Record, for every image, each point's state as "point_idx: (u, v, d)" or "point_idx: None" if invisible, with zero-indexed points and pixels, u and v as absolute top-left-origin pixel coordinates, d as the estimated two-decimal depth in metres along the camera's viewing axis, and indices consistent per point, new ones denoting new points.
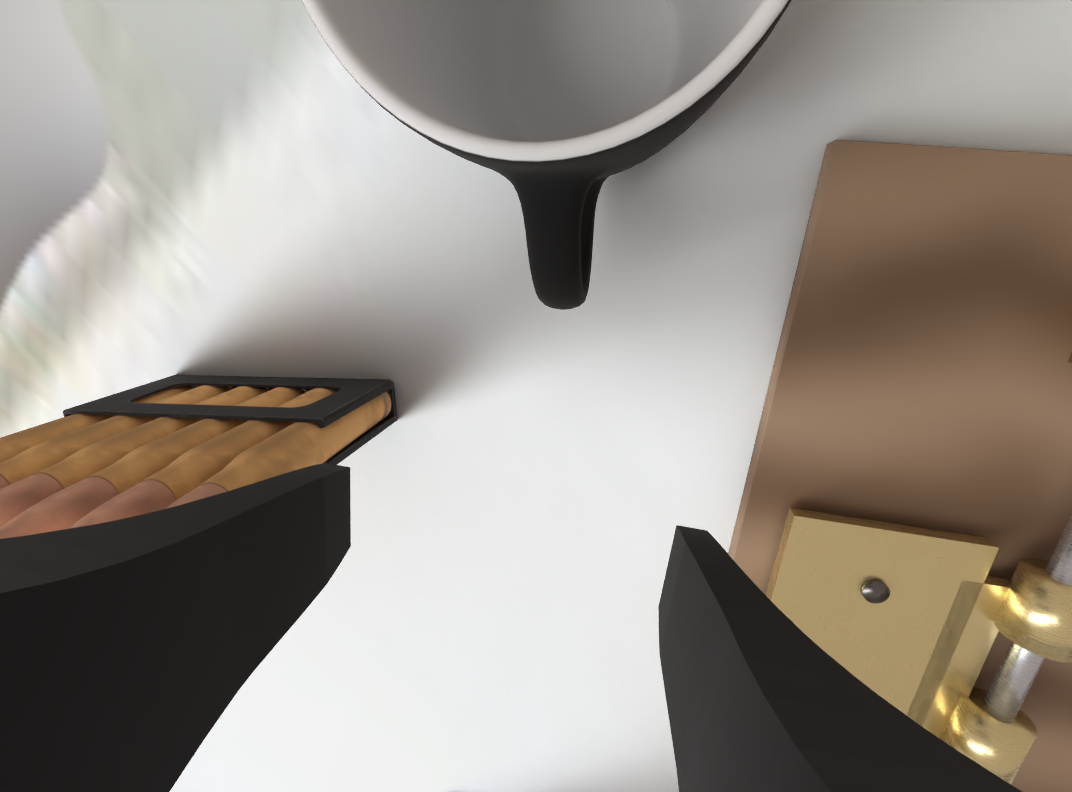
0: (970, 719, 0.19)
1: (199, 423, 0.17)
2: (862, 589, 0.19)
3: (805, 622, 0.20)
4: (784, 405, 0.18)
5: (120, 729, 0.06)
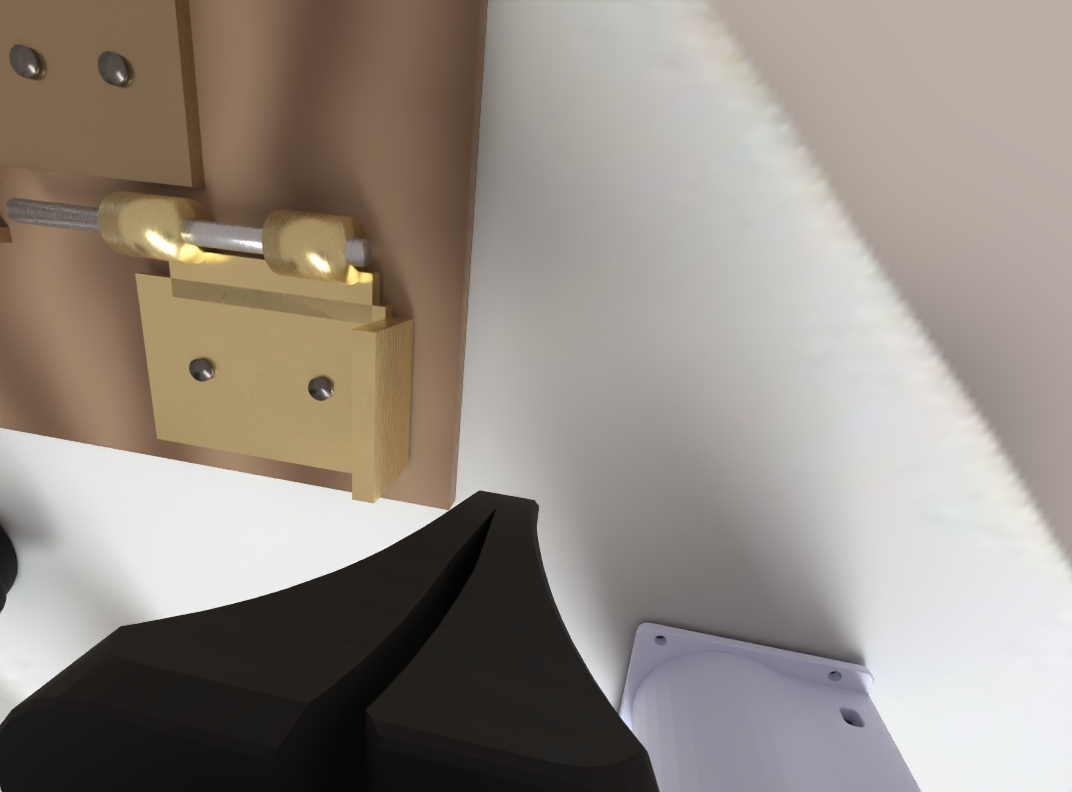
0: (285, 275, 0.17)
1: None
2: (201, 380, 0.20)
3: (252, 423, 0.20)
4: (101, 437, 0.23)
5: None
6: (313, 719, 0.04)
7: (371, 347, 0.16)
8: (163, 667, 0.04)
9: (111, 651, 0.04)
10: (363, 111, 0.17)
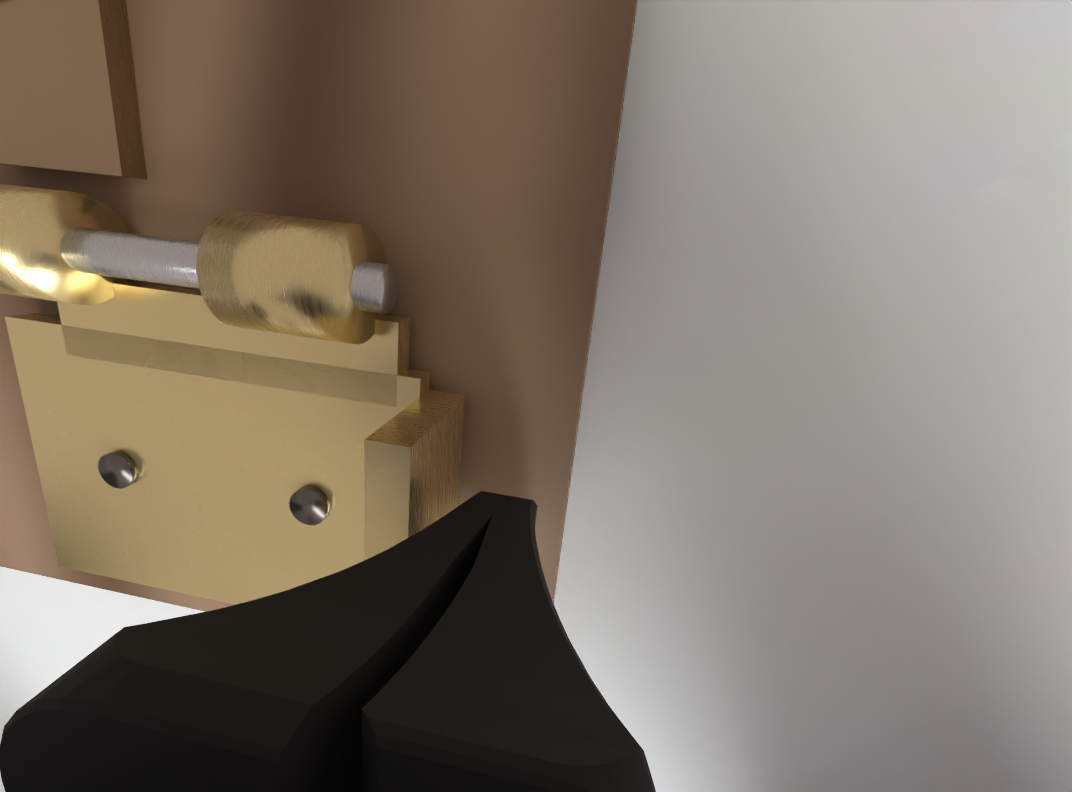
0: None
1: None
2: (119, 486, 0.12)
3: (202, 551, 0.13)
4: (7, 556, 0.15)
5: None
6: (318, 720, 0.04)
7: (402, 472, 0.08)
8: (167, 668, 0.04)
9: (115, 653, 0.04)
10: (423, 38, 0.09)
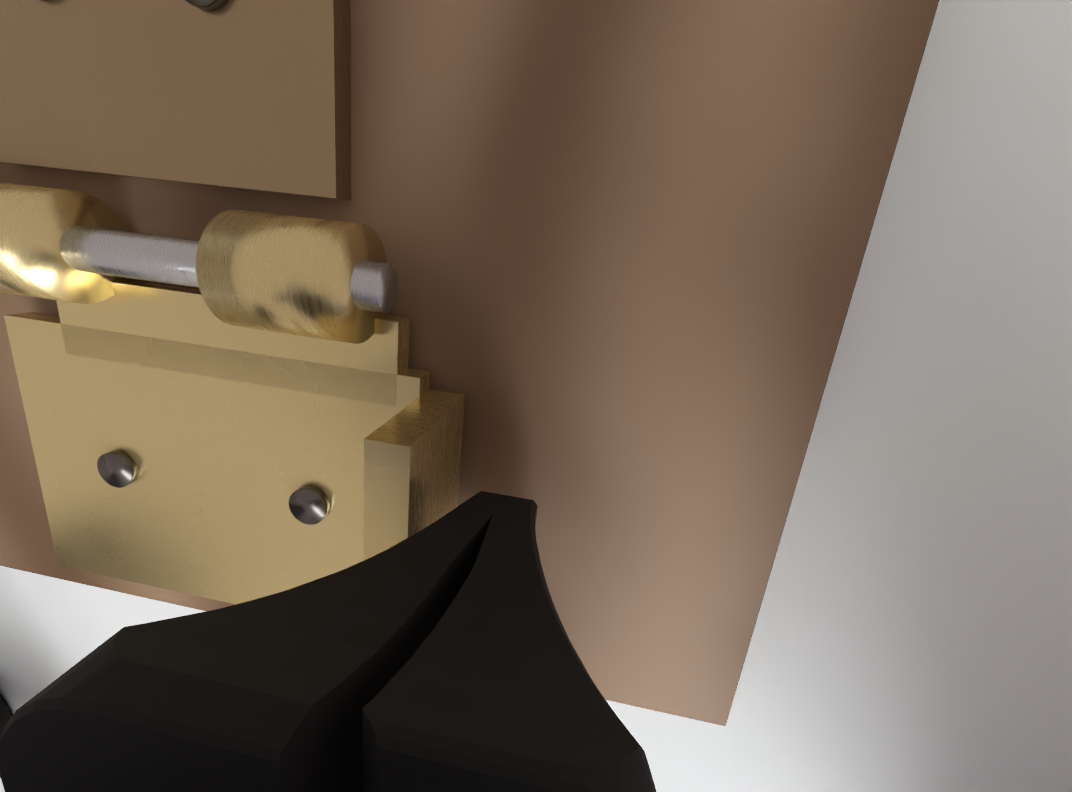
0: None
1: None
2: (118, 486, 0.12)
3: (201, 550, 0.13)
4: (147, 586, 0.15)
5: None
6: (318, 720, 0.04)
7: (402, 472, 0.08)
8: (167, 668, 0.04)
9: (115, 653, 0.04)
10: (683, 54, 0.09)
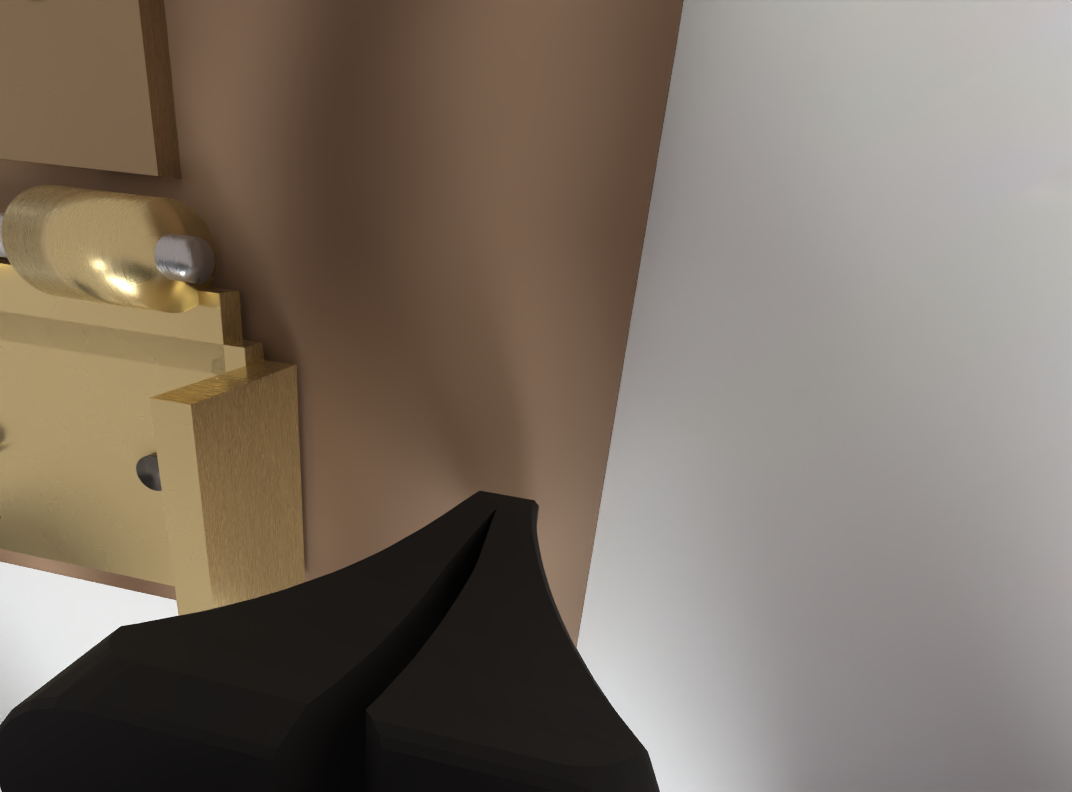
0: (68, 296, 0.10)
1: None
2: None
3: (65, 518, 0.13)
4: (31, 556, 0.15)
5: None
6: (313, 719, 0.04)
7: (187, 429, 0.09)
8: (163, 667, 0.04)
9: (111, 651, 0.04)
10: (465, 38, 0.09)
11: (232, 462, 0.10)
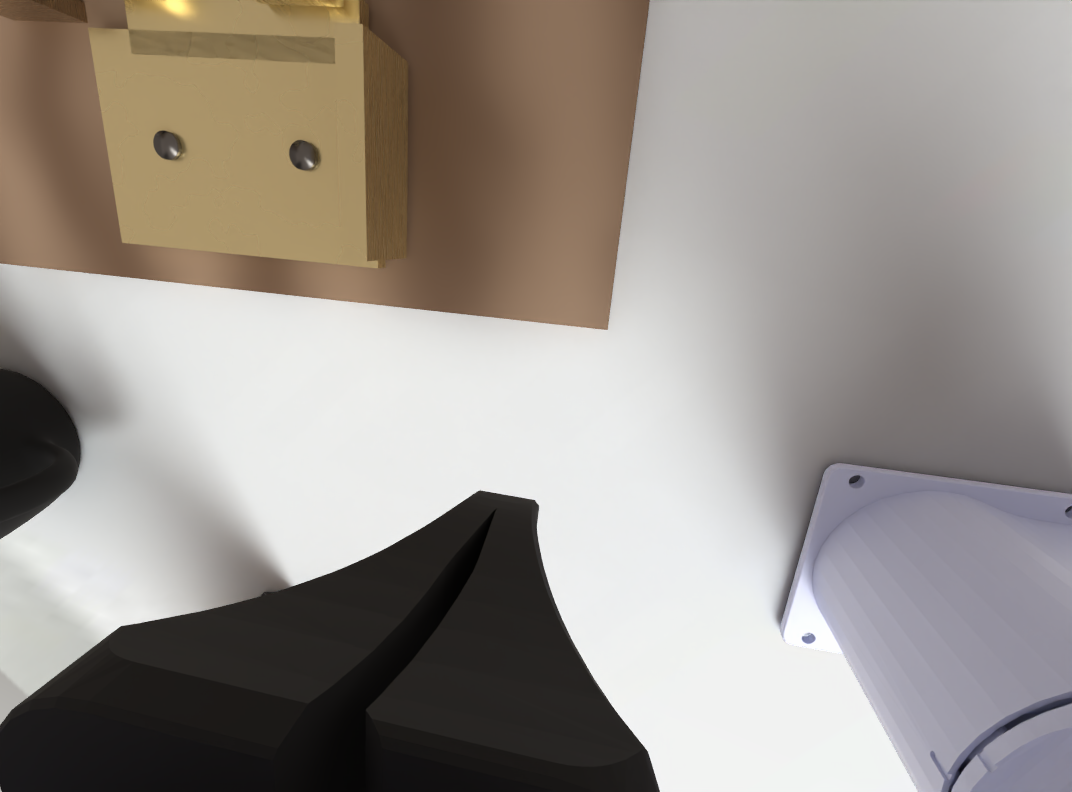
0: None
1: None
2: (168, 159, 0.17)
3: (227, 211, 0.18)
4: (187, 272, 0.20)
5: None
6: (313, 719, 0.04)
7: (358, 46, 0.13)
8: (163, 667, 0.04)
9: (111, 651, 0.04)
10: None
11: (377, 96, 0.14)
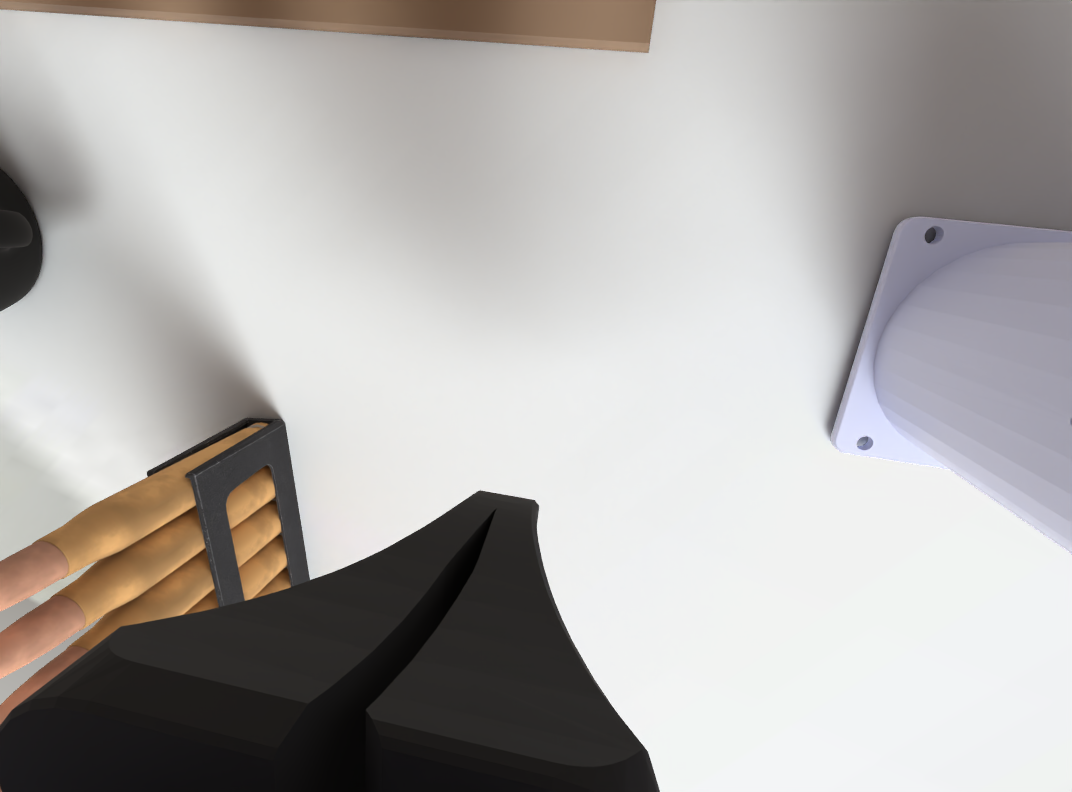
0: None
1: None
2: None
3: None
4: None
5: None
6: (313, 719, 0.04)
7: None
8: (163, 667, 0.04)
9: (111, 651, 0.04)
10: None
11: None
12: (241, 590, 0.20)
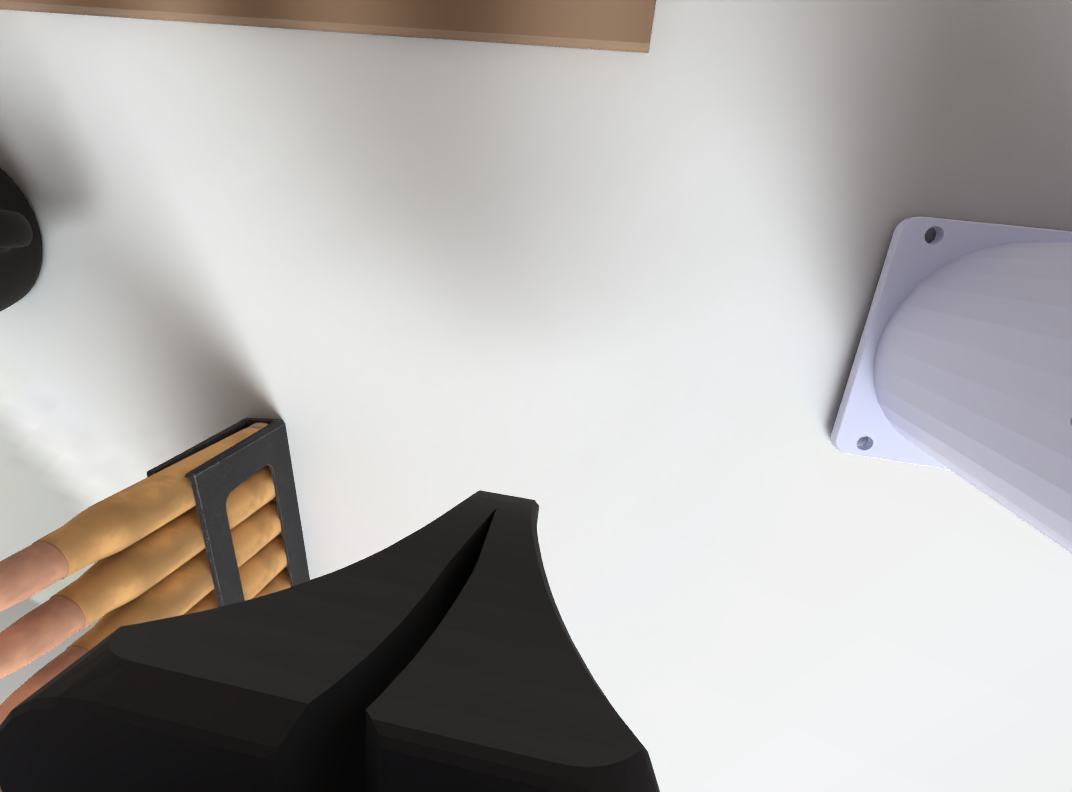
0: None
1: None
2: None
3: None
4: None
5: None
6: (313, 719, 0.04)
7: None
8: (163, 667, 0.04)
9: (111, 651, 0.04)
10: None
11: None
12: (241, 590, 0.20)
